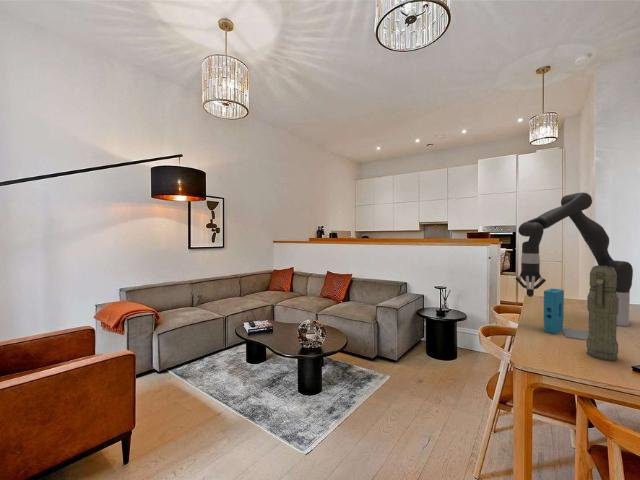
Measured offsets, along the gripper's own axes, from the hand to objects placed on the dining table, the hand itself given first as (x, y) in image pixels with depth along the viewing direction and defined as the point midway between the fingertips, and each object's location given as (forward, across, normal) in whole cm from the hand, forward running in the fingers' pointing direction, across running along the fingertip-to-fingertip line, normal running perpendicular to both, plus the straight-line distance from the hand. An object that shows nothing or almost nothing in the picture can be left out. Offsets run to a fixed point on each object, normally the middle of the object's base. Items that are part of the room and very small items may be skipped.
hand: (530, 296), depth 149 cm
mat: (+16, -21, 0) cm, 26 cm away
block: (+16, -10, 0) cm, 19 cm away
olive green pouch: (+16, -22, +27) cm, 38 cm away
